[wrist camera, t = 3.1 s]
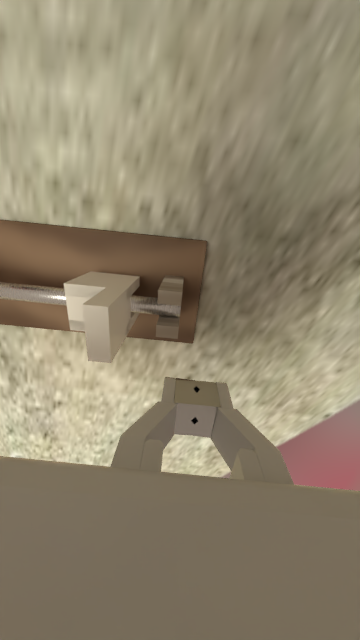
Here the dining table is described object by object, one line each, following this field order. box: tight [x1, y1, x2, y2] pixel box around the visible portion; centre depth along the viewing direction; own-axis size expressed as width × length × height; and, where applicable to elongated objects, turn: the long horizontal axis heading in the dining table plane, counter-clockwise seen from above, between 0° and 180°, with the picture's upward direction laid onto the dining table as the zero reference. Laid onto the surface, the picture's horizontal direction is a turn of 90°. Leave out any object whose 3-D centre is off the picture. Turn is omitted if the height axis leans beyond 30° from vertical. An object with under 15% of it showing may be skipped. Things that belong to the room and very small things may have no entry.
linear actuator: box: [0, 220, 207, 343], centre depth 21 cm, size 12×30×8 cm, turn 85°
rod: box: [0, 282, 181, 317], centre depth 20 cm, size 4×26×6 cm, turn 85°
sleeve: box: [64, 272, 140, 363], centre depth 17 cm, size 4×5×9 cm
